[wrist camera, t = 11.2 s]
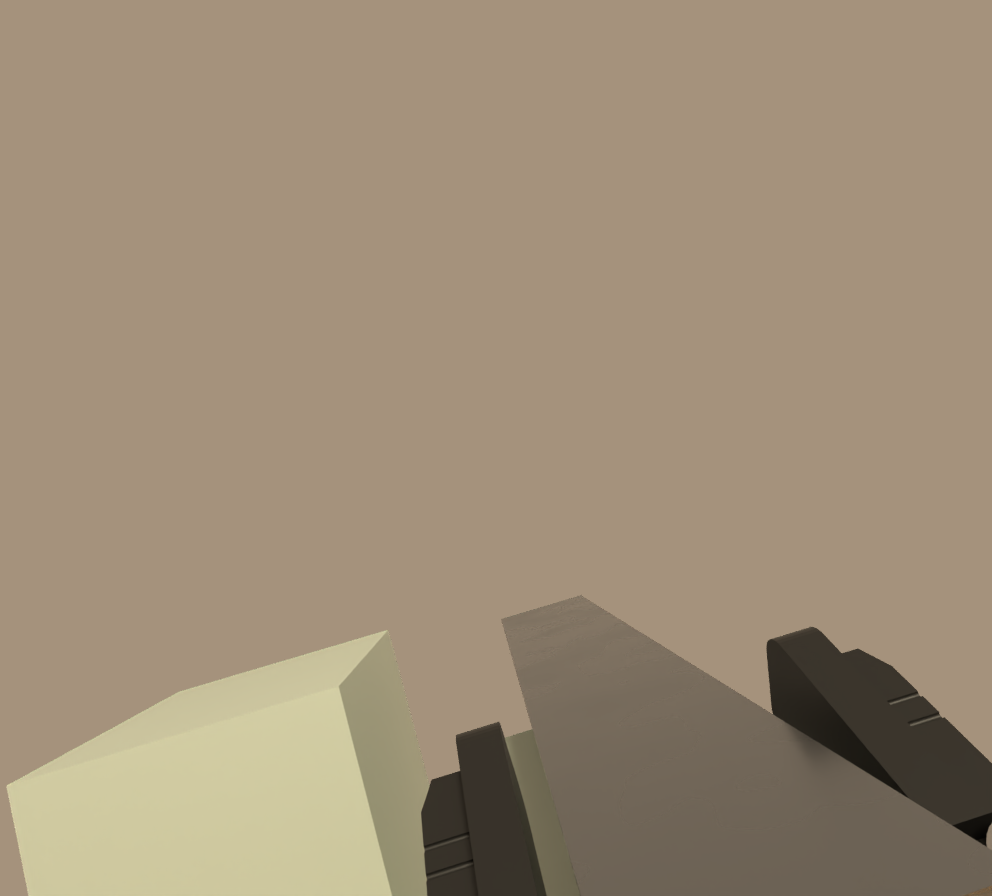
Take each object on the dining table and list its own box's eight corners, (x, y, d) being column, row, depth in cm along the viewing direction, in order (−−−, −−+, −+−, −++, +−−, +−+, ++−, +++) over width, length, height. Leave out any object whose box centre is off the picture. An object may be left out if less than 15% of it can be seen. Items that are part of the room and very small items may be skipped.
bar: (758, 1518, 5) (614, 1012, 5) (524, 702, 29) (501, 619, 29) (1195, 1348, 5) (1029, 873, 6) (605, 677, 29) (580, 595, 29)
